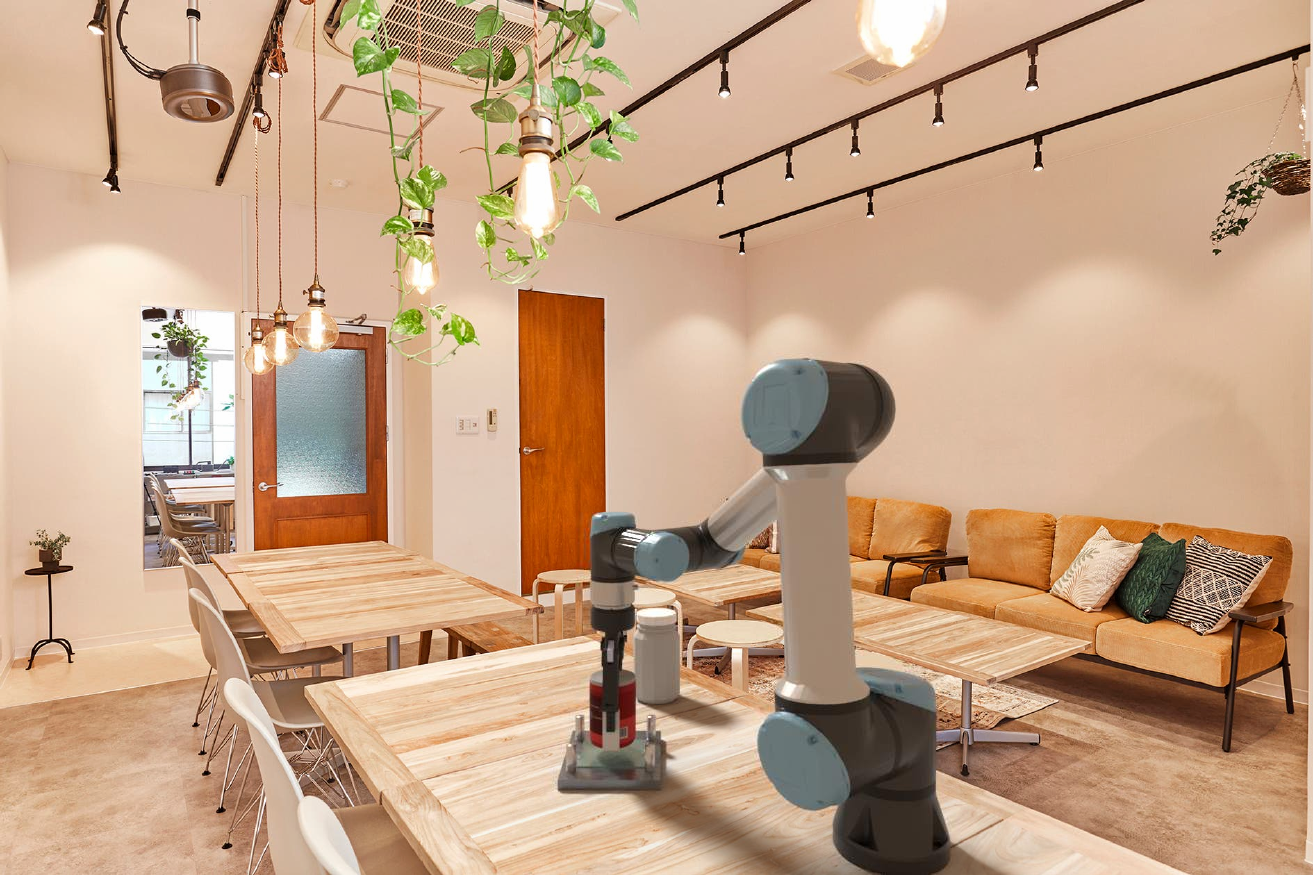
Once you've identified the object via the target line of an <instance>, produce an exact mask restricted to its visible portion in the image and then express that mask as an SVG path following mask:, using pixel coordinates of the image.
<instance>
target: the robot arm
mask: <svg viewBox="0 0 1313 875" xmlns="http://www.w3.org/2000/svg"><path fill="white" fill-rule="evenodd" d="M743 395H744V396H743V399H742V402H741V403H742V404H741V409H740V410H741V411H740V415H741V416H740V418H741V426H742V430H743V434H744V435H745V438H747V439H749V443H750V444H751V446H752V447H753V448H754V449H756V450H758V451H759V452H761V453H762V457H761V458H762V468H760V469H759V471H757V473H755V474H754V475H753V476H752V477H751V478H750V479H748V481H746V482H745V483H744V484H743V485H742V486H741V487H740V488H739V489H737V490H736V492H734V493H733V494H732V495H731V496H730V497H729V498H728V499H727V500H726V501H724V502H723V504H721V505H720V506H719V507H718V508H717V509H716V510H714V512H713V513H711V514H710V515H709V516H708V517H707V518H706V519H704V520H703V521H702V522H701V523H699V524H697V525H689V526H688V525H687V526H681V527H670V528H662V529H661V528H660V529H645V528H637V525H636V517H635V515H634V514H633V513H631V512H626V511H603V512H597V513H595V514H593V515H592V517H591V522H590V535H589V548H590V552H589V554H590V579H589V582H590V583H589V585H590V586H589V601H590V603H591V604H592V605H591V607H590V627H591V628H592V629H593V630H595V631H597V632H603V633H604V636H601V640H600V644H599V646H600V647H599V648H600V649H599V650H600V651H601V660H600V662H601V668H602V670H603V684H602V706H601V708H598V712H603V751H619V706H618V699H619V671H621V669H623V660H624V656H625V646H626V637H625V636H623V635H624V632H628V631H630V630H632V629H634V628H635V626H636V606H635V605H634V603H635V601H636V591H638V590H640V589H639V588H640V587H639V585H638V584H635V580H636V577H639V578H640V577H641V578H644V579H647V580H650V581H652V582H657V583H658V582H664V583H669V582H670V583H671V582H675V581H677V579H678V578H681V576H682V575H683V574H688V573H695V572H702V571H703V572H704V571H710V570H721V569H725V568H728V567H729V566H730V567H731V566H734V565H736V564H738V563H739V562H740V561H741V560H743V556H744V554H745V552H746V549H747V548H746V547H747V545H748V544H749V543H751V542H752V541H753V540H754V539H756V538H757V537H758V536H759V535H760V534H762V533H763V532H764V531H765V530H766V529H767V528H769V527H771V526H772V524H774V523H775V522H776V521H777V527H778V528H777V531H778V532H777V533H778V548H779V551H778V552H779V570H780V587H781V589H780V590H781V607H782V628H783V645H784V647H783V648H784V649H783V650H784V665H785V666H784V668H785V673H784V675H783V676H782V677H781V678H780V679H779V680H778V681H777V682H776V683H775V684H774V686H773V689H774V690H773V694H774V711H775V712H774V713H771V714H768V715H767V717H766V718H765V719H764V720H763V723H762V724H761V725H760V726H759V728H758V733H757V738H756V739H757V740H756V742H757V743H756V745H757V753H758V758H759V761H760V764H761V767H762V769H763V772H764V773H765V775H766V777H767V779H768V781H769V782H771V783H772V785H773V786H774V788H775V790H776V791H777V792H778V793H779V795H781V796H782V798H784V799H785V800H786V801H787V802H789V803H790V804H792V805H793V806H796V807H797V808H800V809H803V810H805V811H811V812H813V811H822V810H824V809H828V808H830V807H836V806H837V808H836V810H835V813H834V817H833V820H832V843H833V845H834V847H835V849H836V850H837V851H838V853H840V854H841V855H842V856H843V857H844V858H845V859H847V860H848V861H850V862H852V863H853V864H855V865H858V866H859V867H860V868H864V869H865V870H866V869H867V870H869V871H872V872H876V873H878V874H885V875H930V874H931V875H932V874H933V873H937V871H940V870H942V869H943V868H945V867H947V865H948V863H949V861H950V860H951V837H950V832H949V830H948V826H947V823H946V821H945V818H944V814H943V812H942V808H941V804H940V801H939V798H938V796H937V718H938V717H937V716H938V713H939V712H938V709H937V703H936V702H937V701H936V700H937V699H936V692H935V691H936V690H935V688H934V687H933V685H932V684H931V683H930V682H928V680H927V679H925V678H923V677H920V676H919V675H915V674H911V673H908V672H904V671H899V670H894V669H888V668H880V667H873V666H872V667H869V666H868V667H866V666H865V667H864V666H861V667H860V666H859V667H857V663H856V647H855V646H856V645H855V624H854V610H853V609H854V608H853V605H854V604H853V592H852V591H853V590H852V589H853V588H852V587H853V586H852V574H851V572H852V571H851V555H850V554H851V552H850V536H849V535H850V534H849V518H848V517H849V516H848V500H847V499H848V498H847V481H846V480H847V478H848V477H849V475H850V474H851V473H852V472H853V470H855V469H856V467H857V466H858V464H859V463H860V462H862V461H863V460H864V459H865V458H867V457H868V456H869V455H870V454H871V453H872V452H873V451H874V450H876V449H877V448H878V447H879V446H880V445H881V444H883V442H884V441H885V440H886V439H887V437H888V435H889V434H890V432H891V430H892V428H893V425H894V422H895V419H896V409H897V408H896V400H895V396H894V392H893V390H892V388H891V386H890V384H889V383H888V382H887V380H886V379H885V378H884V376H882V375H881V374H880V373H879V372H878V371H876V370H874V369H873V368H870V367H869V366H867V365H864V364H860V363H853V362H838V361H829V360H822V359H821V360H820V359H812V358H808V357H803V358H799V357H798V358H784V359H783V358H782V359H778V360H775V361H773V362H770V363H768V364H766V365H764V367H762V368H761V369H760V370H759V371H758V372H757V373H756V374H755V377H754V379H753V380H752V381H750V383H749V384H748V386H747V388H746V390H745V393H744V394H743Z"/></svg>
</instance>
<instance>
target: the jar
mask: <svg viewBox="0 0 1313 875" xmlns="http://www.w3.org/2000/svg"><path fill="white" fill-rule="evenodd" d="M636 622H637V623H638V624H636V630H635V632H634V633H633V636H632V637H633V673H634V674H635V675H636V700H638V701H639V702H641V703H643V704H649V705H666V704H669V703H673V702H674V701H675V700H676V699H677V698H678V697H679V695H680V694H681V661H680V660H681V656H680V655H681V654H680V653H681V651H680V650H681V639H680V638H681V636H680V634H679V633H678V631H677V630H676V629H677V625H676V622H677V612H676V610H673V609H670V608H666V607H665V608H664V607H649V608H642V609H640V610H638V611H636Z"/></svg>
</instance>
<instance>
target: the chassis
mask: <svg viewBox="0 0 1313 875" xmlns="http://www.w3.org/2000/svg"><path fill="white" fill-rule="evenodd" d="M574 717H575V720H574V721H575V730H572V732H571V736H570V739H569V743H567V744H566V745H565V747H566V748H565V749H566V750H565V754H564V758H563V761H562V763H561V767H560V770H559V773H558V774H559V775H558V777H557V790H559V791H560V790H561V791H562V790H563V791H564V790H565V791H566V790H567V791H573V790H574V791H575V790H576V791H584V790H585V791H586V790H587V791H593V790H595V791H596V790H598V791H616V790H617V791H661V769H662V768H661V767H662V766H661V765H662V764H661V759H662V758H661V756H662V730H657V728H656V727H657V725H656V724H657V716H656V715H655V714H647V715H646V730H636V736H635V739H634V742H633V743H632V744H631V745H629V746H627V747H624V748H619V751H603V749H602V748H598V747H596V746H594V745H593V744H592V743H591V740H590V730H585V715H584V714H576V715H575V716H574Z"/></svg>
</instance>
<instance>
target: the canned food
mask: <svg viewBox="0 0 1313 875" xmlns="http://www.w3.org/2000/svg"><path fill="white" fill-rule="evenodd" d="M602 684H603V669H601V670H597V671H595V672H592V673H591V674H590V676H589V690H588V691H589V694H588V695H589V700H588V701H589V731H590V740H591V743H592V744H593V745H594V746H596V747H598V748H602V749H603V712H598V708H601V706H602ZM618 706H619V748H624V747H627V746H629V745H631V744H632V743H633V742H634V739H635V736H636V731H637V727H636V726H637V725H636V724H637V719H636V718H637V697H636V675H635V674H634V671H631V670H629V669H628V670H627V669H623V668H622V669H621V671H619V699H618Z"/></svg>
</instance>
